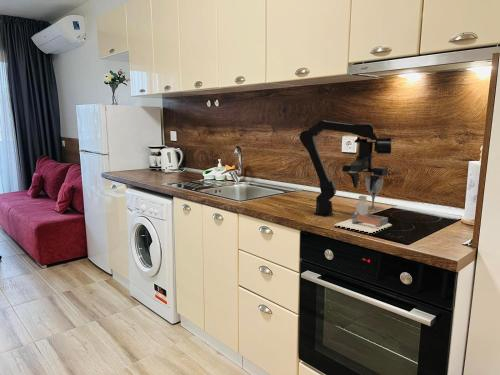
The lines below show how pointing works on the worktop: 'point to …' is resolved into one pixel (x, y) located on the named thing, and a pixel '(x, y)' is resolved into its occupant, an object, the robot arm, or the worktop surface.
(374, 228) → the lock base
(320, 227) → the worktop surface
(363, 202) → the pepper shaker
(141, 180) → the worktop surface
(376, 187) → the wine glass
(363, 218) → the locking bar
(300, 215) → the worktop surface
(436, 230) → the worktop surface
